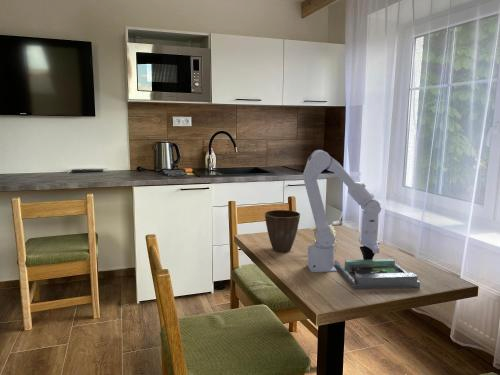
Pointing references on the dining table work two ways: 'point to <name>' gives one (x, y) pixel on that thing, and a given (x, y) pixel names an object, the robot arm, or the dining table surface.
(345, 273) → the shallow rimmed tray
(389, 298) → the dining table surface
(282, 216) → the plant pot
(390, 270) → the disk drive
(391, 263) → the long teal rectangular bar
